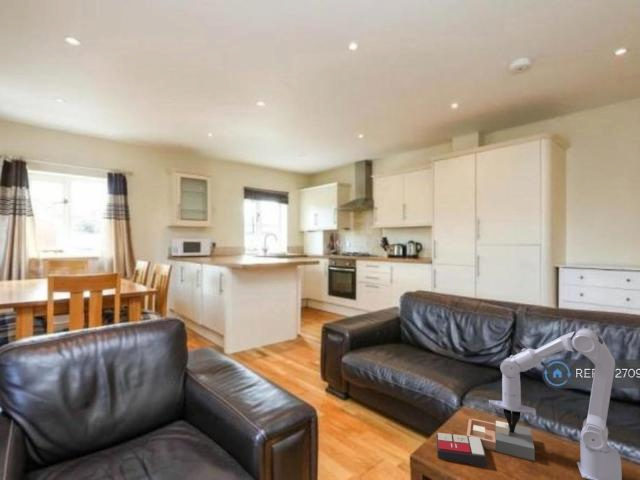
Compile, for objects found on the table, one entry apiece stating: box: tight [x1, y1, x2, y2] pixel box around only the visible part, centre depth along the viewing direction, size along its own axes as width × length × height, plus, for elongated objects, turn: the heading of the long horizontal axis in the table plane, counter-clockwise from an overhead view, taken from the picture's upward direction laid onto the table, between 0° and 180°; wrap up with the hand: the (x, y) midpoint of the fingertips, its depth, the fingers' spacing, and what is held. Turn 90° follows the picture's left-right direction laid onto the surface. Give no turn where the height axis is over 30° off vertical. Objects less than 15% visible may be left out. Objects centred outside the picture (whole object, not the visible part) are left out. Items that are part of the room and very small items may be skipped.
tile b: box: [473, 425, 485, 438], centre depth 123 cm, size 4×4×2 cm
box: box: [466, 417, 496, 452], centre depth 123 cm, size 9×14×3 cm, turn 152°
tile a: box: [495, 420, 509, 435], centre depth 120 cm, size 4×4×2 cm
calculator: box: [435, 432, 488, 468], centre depth 113 cm, size 11×4×15 cm
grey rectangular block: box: [495, 424, 536, 462], centre depth 118 cm, size 11×14×4 cm
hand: (511, 431), depth 118 cm, fingers closed
